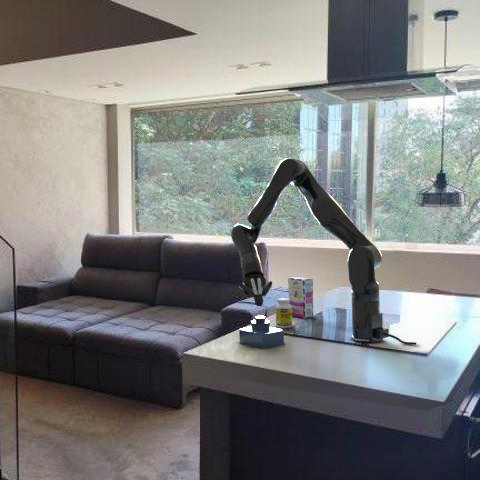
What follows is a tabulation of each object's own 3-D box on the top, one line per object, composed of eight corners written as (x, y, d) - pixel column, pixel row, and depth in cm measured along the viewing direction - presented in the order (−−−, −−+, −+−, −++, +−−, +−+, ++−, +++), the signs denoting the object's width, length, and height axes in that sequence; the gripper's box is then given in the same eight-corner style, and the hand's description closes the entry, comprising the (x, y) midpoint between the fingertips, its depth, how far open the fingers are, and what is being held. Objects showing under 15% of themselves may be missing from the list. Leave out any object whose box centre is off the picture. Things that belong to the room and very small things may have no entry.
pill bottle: (280, 329, 231) (279, 300, 230) (273, 326, 237) (272, 298, 236) (295, 327, 232) (294, 299, 232) (287, 324, 238) (286, 297, 238)
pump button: (267, 322, 212) (267, 317, 212) (260, 324, 210) (259, 318, 210) (260, 321, 215) (260, 315, 215) (253, 322, 213) (253, 317, 213)
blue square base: (285, 343, 207) (285, 323, 207) (262, 349, 201) (262, 328, 201) (261, 337, 217) (260, 319, 217) (239, 342, 212) (238, 323, 211)
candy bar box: (314, 317, 250) (313, 278, 248) (304, 318, 248) (303, 279, 246) (297, 313, 260) (296, 276, 259) (288, 314, 258) (287, 277, 257)
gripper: (235, 261, 221) (242, 299, 209) (270, 260, 221) (279, 297, 210) (233, 274, 226) (240, 311, 215) (267, 272, 227) (276, 309, 216)
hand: (259, 304), depth 212 cm, fingers closed
